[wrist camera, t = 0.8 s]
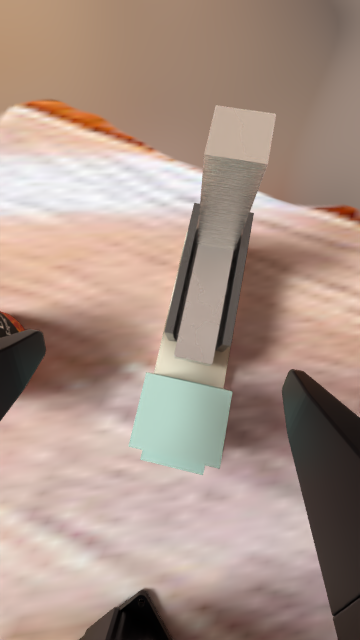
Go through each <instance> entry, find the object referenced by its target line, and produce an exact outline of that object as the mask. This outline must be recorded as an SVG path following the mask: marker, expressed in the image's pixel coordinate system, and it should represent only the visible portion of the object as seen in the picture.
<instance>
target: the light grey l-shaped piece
mask: <svg viewBox="0 0 360 640" xmlns="http://www.w3.org/2000/svg"><path fill="white" fill-rule="evenodd" d="M275 118H276V114H274V113H267V112H260V111H253V110H245V109H238V108H231V107H224V106H217V105H216V107H215V111H214V115H213V119H212V123H211V128H210V132H209V136H208V140H207V145H206V149H205V154H204V164H203V176H202V189H201V201H200V214H199V227H198V239H197V244H198V248H197V253H196V257H195V262H194V266H193V271H192V275H191V280H190V284H189V289H188V294H187V298H186V303H185V307H184V312H183V316H182V321H181V325H180V330H179V335H178V339H177V344H176V348H175V353H174V357H175V359H179V360H183V361H188V362H193V363H197V364H202V365H207V366H210V365H212V364H213V358H214V353H215V347H216V342H217V337H218V331H219V326H220V320H221V315H222V310H223V304H224V299H225V294H226V288H227V283H228V277H229V272H230V267H231V261H232V256H233V251H235V249H236V246H237V244H238V241H239V238H240V236H241V233H242V230H243V228H244V225H245V223H246V220H247V217H248V215H249V212H250V209H251V207H252V204H253V202H254V199H255V196H256V194H257V191H258V189H259V186H260V183H261V181H262V178H263V175H264V173H265V170H266V167H267V165H268V160H269V154H270V148H271V142H272V136H273V130H274V124H275Z"/></svg>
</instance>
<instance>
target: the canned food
mask: <svg viewBox="0 0 360 640" xmlns="http://www.w3.org/2000/svg"><path fill="white" fill-rule="evenodd" d="M21 331H25V329H24V328H23V326H22V325H21V324H20V323H19V322H18V321H17V320H16V319H15V318H13V317H12V316H10V315H9V314H6V313H3V312H1V311H0V338H2V337H6V336H9V335H12V334H15V333H18V332H21Z"/></svg>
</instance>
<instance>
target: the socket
mask: <svg viewBox="0 0 360 640" xmlns="http://www.w3.org/2000/svg"><path fill="white" fill-rule="evenodd" d="M231 398H232V391H229V390H226V389H223V388H219V387H214V386H210V385H205V384H201V383H196V382H192V381H187V380H183V379H178V378H174V377H169V376H165V375H160V374H155V373H147V372H146V376H145V380H144V384H143V388H142V393H141V397H140V401H139V405H138V409H137V413H136V418H135V422H134V426H133V430H132V434H131V438H130V443H129V447H133V448H137V449H141V450H143V451H142V455H141V459H140V460H144V461H148V462H152V463H156V464H160V465H164V466H168V467H172V468H176V469H180V470H184V471H188V472H192V473H196V474H200V475H203V472H204V467H205V465H206V466H210V467H214V468H218V469H220V465H221V458H222V452H223V446H224V440H225V434H226V428H227V422H228V416H229V410H230V404H231Z"/></svg>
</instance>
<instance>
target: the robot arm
mask: <svg viewBox="0 0 360 640" xmlns="http://www.w3.org/2000/svg"><path fill="white" fill-rule="evenodd" d="M45 352H46V347H45V342H44V337H43V333H42V332H41V331H40V330H33V329H28V330H25V331H21V332H18V333H15V334H12V335H9V336H6V337H2V338H0V421H1V420H2V418H3V417H4V416H5V414H6V413H7V412H8V410H9V409H10V408H11V406H12V405H13V404H14V402H15V401H16V400H17V398H18V397H19V396H20V394H21V393H22V391H23V390H24V388H25V387H26V385H27V384H28V382H29V380H30V379H31V377H32V375H33V374H34V372H35V370H36V369H37V367H38V365H39V364H40V362H41V360H42V359H43V357H44V355H45ZM282 396H283V404H284V412H285V420H286V428H287V434H288V438H289V443H290V447H291V451H292V455H293V459H294V463H295V467H296V471H297V475H298V479H299V483H300V487H301V491H302V495H303V499H304V503H305V507H306V511H307V515H308V519H309V523H310V527H311V531H312V535H313V539H314V543H315V548H316V552H317V556H318V560H319V564H320V568H321V572H322V576H323V580H324V584H325V588H326V592H327V596H328V600H329V604H330V608H331V612H332V615H333V616H334V617H333V621H334V625H335V629H336V633H337V637H338V640H360V417H358V416H357V415H356V414H355V413H353V412H352V411H351V410H350V409H349V408H347V407H346V406H345V405H344V404H343V403H341V402H340V401H339V400H338V399H336V398H335V397H334V396H333V395H332V394H330V393H329V392H328V391H327V390H326V389H324V388H323V387H322V386H321V385H320V384H318V383H317V382H316V381H315V380H313V379H312V378H311V377H310V376H309V375H307V374H306V373H305V372H304V371H300V370H294V369H292V370H290V371H289V372H288V375H287V377H286V380H285V382H284V385H283V388H282ZM139 599H143V600H144V602H143V603H141V602H140V601H139ZM79 640H172V638H171V636H170V634H169V632H168V631H167V629H166V627H165V625H164V623H163V621H162V619H161V618H160V616H159V614H158V612H157V610H156V608H155V606H154V605H153V603H152V601H151V599H150V597H149V595H148V594H147V592H146V591H144V590H141V591H139V592H138V593H136V594H135V595H134V596H133V597H131V598H130V599H129V600H128V601H126V602H125V603H124V604H123V605H121V606H120V607H114V608H113V609H112V610H111V611H109V612H108V613H107V614H106V615H104V616H103V617H102V618H101V619H99V620H98V621H97V622H96V623H94V624H93V625H92V626H91V627H89V628H88V629H87V630H86V633H85V635H84V636H83V637H82V638H81V639H79Z"/></svg>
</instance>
